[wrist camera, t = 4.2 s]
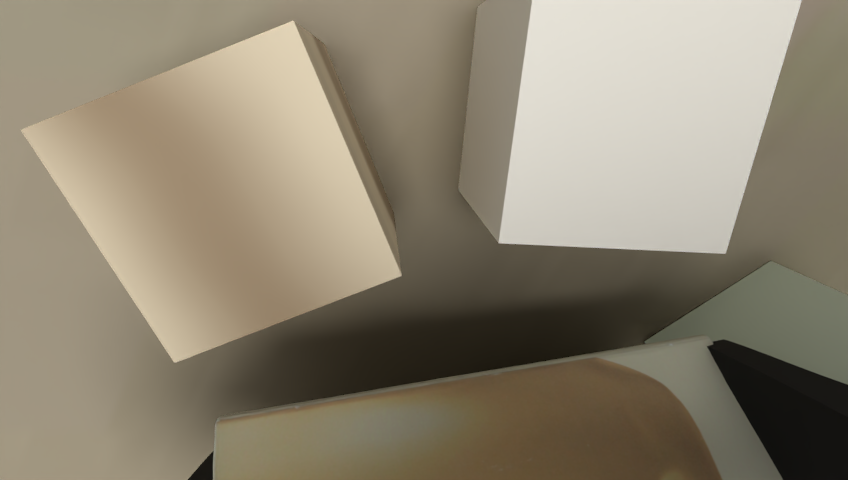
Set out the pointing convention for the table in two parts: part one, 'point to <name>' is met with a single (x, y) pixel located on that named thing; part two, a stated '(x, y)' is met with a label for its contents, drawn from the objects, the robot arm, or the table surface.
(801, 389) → the robot arm
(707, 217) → the cube cream
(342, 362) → the table surface
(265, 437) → the skincare box
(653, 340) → the cube sage
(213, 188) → the cube beech
